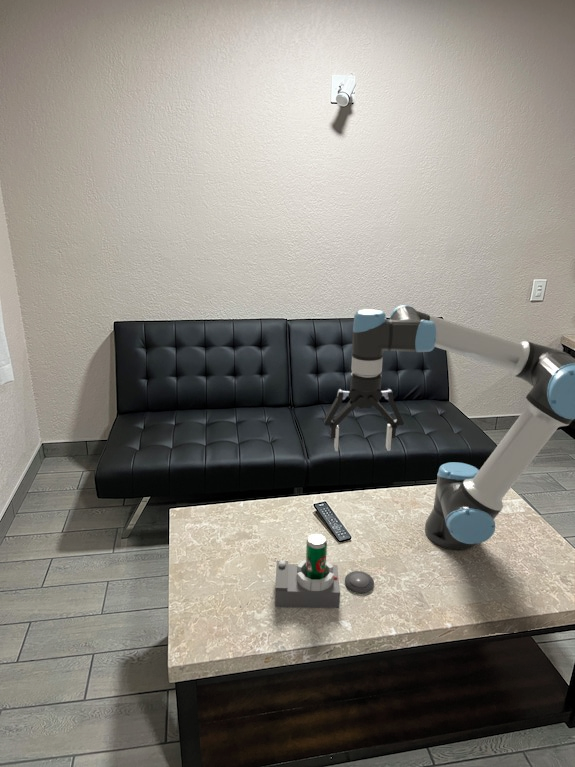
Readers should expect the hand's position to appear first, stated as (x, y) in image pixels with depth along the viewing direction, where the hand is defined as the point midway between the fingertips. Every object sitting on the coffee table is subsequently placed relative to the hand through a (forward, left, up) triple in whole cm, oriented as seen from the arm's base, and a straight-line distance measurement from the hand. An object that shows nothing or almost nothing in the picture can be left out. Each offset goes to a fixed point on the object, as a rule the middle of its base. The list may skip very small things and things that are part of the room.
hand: (362, 448), depth 140 cm
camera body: (+14, +15, -34) cm, 40 cm away
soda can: (+12, +15, -30) cm, 35 cm away
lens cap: (0, +11, -34) cm, 36 cm away
